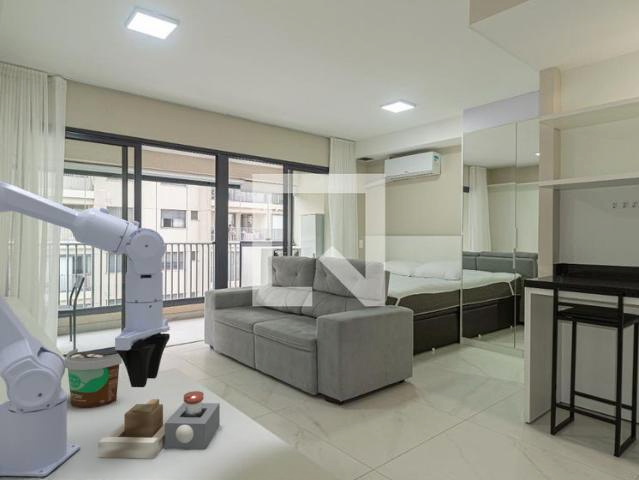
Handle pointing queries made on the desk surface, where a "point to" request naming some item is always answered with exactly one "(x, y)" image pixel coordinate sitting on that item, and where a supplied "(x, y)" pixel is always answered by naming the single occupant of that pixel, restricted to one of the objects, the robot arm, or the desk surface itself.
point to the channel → (131, 443)
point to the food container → (92, 378)
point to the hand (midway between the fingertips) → (144, 382)
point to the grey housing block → (192, 427)
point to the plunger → (194, 403)
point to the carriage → (143, 420)
